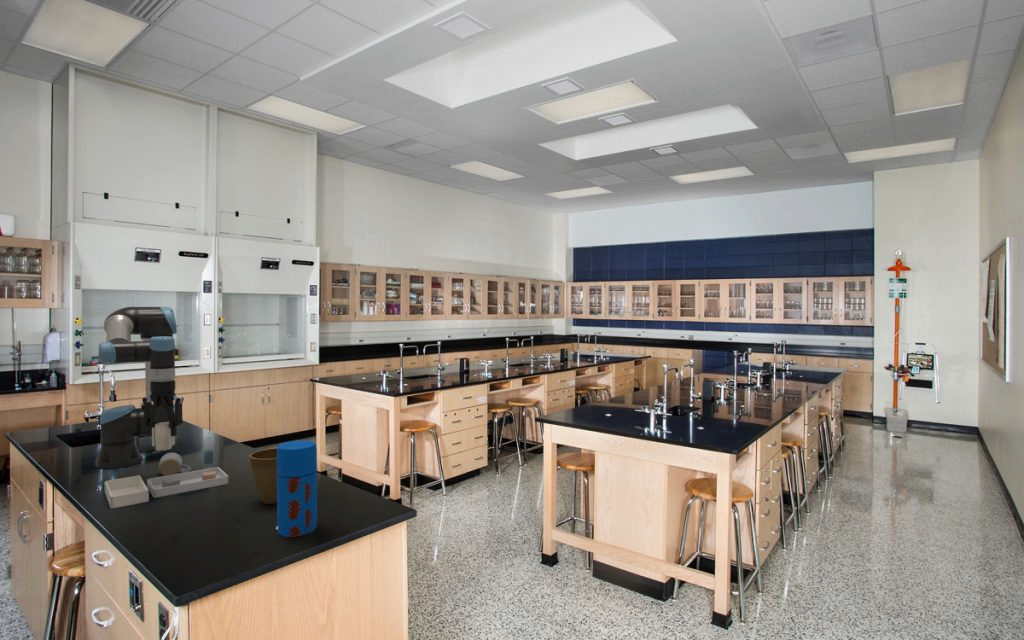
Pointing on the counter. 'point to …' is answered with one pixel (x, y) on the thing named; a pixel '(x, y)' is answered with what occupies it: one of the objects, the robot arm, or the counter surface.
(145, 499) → the bin
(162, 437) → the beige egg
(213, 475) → the orange cube
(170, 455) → the ceramic mug
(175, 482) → the gray cube
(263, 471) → the plant pot
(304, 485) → the thermos
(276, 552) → the counter surface
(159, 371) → the robot arm
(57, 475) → the counter surface
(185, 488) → the tray
